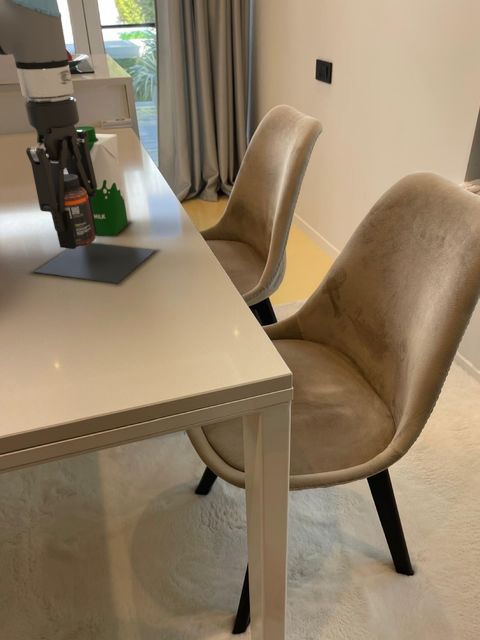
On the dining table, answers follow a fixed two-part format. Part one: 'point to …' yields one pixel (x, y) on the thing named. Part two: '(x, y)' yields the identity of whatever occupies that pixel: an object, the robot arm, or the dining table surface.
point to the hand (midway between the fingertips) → (79, 240)
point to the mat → (96, 263)
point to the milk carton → (106, 183)
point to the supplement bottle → (78, 210)
